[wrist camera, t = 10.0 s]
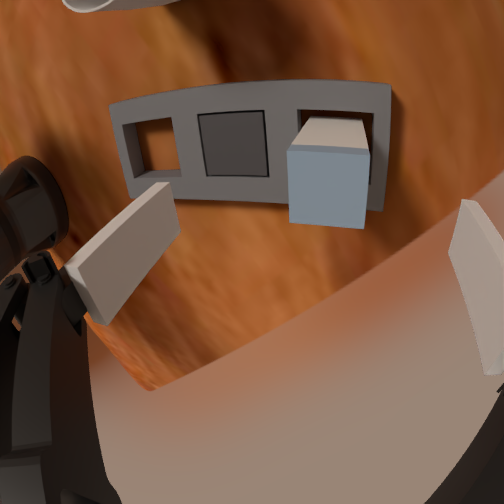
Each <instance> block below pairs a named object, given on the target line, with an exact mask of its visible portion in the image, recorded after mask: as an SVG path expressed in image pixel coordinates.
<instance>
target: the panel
mask: <svg viewBox="0 0 504 504" xmlns="http://www.w3.org/2000/svg"><path fill="white" fill-rule="evenodd" d="M301 109H310V110H337V111H354V112H366V113H372V141H371V161H370V176H369V180H368V193H367V204H366V210H371V211H381V212H383V207H384V199H385V190H386V180H387V169H388V157H389V142H390V122H391V85H389V84H387V83H377V82H366V81H352V80H331V79H280V80H258V81H244V82H232V83H222V84H213V85H205V86H198V87H191V88H184V89H178V90H172V91H166V92H161V93H156V94H151V95H146V96H141V97H136V98H132V99H128V100H123V101H120V102H117V103H114V104H111V105H109V110H110V115H111V120H112V125H113V130H114V135H115V139H116V144H117V148H118V152H119V156H120V161H121V165H122V169H123V173H124V177H125V180H126V184H127V188H128V192H129V195H130V198H138V197H139V196H140V195H142V194H143V193H144V192H145V191H147V190H148V189H149V188H150V187H151V186H153V185H154V184H155V183H156V182H170V186H171V190H172V195H173V199H200V200H228V201H250V202H269V203H285V204H289V193H288V169H287V150H288V148H289V147H290V145H291V144H292V142H293V141H294V139H295V138H296V136H297V135H298V134H299V132H300V131H301V129H302V122H301ZM167 117H171V118H172V124H173V130H174V136H175V141H176V147H177V153H178V158H179V164H180V170H154V171H145V168H144V164H143V159H142V155H141V150H140V145H139V141H138V136H137V131H136V126H135V122H140V121H147V120H153V119H160V118H167Z"/></svg>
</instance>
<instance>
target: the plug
mask: <svg viewBox="0 0 504 504" xmlns="http://www.w3.org/2000/svg"><path fill="white" fill-rule="evenodd" d="M369 166H370V153H369V148H368V144H367V139H366V135H365V130H364V126H363V122H362V118H349V117H331V116H310V118H309V119H308V121H307V122H306V124H305V125H304V126H303V128H302V129H301V131H300V132H299V134H298V135H297V136H296V138H295V139H294V141H293V142H292V144H291V145H290V147H289V148H288V150H287V169H288V193H289V222H290V223H301V224H313V225H324V226H335V227H346V228H357V229H364V223H365V214H366V204H367V193H368V180H369Z"/></svg>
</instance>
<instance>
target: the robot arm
mask: <svg viewBox="0 0 504 504" xmlns="http://www.w3.org/2000/svg"><path fill="white" fill-rule="evenodd" d="M67 231H68V214H67V209H66V205H65V202H64V199H63V196H62V194H61V191H60V189H59V187H58V185H57V183H56V182H55V180H54V178H53V177H52V175H51V174H50V172H49V171H48V170H47V169H46V167H45V166H44V165H43V164H42V163H40V162H39V161H38V160H37V159H35V158H33V157H30V156H22V157H20V158H18V159H17V160H15V161H13V162H11V163H10V164H9V165H8V166H7V167H6V168H5V169H4V171H3V172H2V173H1V174H0V281H1V280H2V279H3V278H4V277H5V276H6V275H8V274H9V273H10V272H11V271H12V270H13V269H14V268H15V267H16V266H17V265H18V264H19V263H20V262H21V261H22V260H24V259H26V258H28V257H29V258H28V259H27V260H26V261H25V262H24V263H23V265H22V269H23V271H24V273H25V275H26V277H27V278H28V280H29V282H30V283H26V282H25V280H24V279H23V277H22V275H21V274H19V273H18V274H13V275H10V276H9V277H7V278H6V279H5V280H4V281H3V282H2V284H1V285H0V504H122V503H121V500H120V497H119V496H118V494H117V492H116V490H115V489H114V488H113V486H112V485H111V484H110V483H109V481H108V478H107V476H106V472H105V467H104V463H103V459H102V454H101V449H100V444H99V439H98V433H97V428H96V421H95V415H94V408H93V401H92V393H91V385H90V374H89V362H88V347H87V324H86V321H85V319H84V317H83V316H84V314H85V313H86V312H87V311H88V313H89V314H90V316H91V318H92V320H93V321H94V322H96V323H99V324H102V325H106V326H108V325H109V324H110V322H111V321H112V319H113V318H114V317H115V315H116V314H117V313H118V311H119V310H120V309H121V307H122V306H123V305H124V303H125V302H126V301H127V299H128V298H129V297H130V295H131V294H132V293H133V291H134V290H135V289H136V287H137V286H138V285H139V283H140V282H141V281H142V280H143V278H144V277H145V276H146V274H147V273H148V272H149V271H150V269H151V268H152V267H153V266H154V264H155V263H156V262H157V261H158V259H159V258H160V257H161V256H162V254H163V253H164V252H165V251H166V249H167V248H168V247H169V246H170V244H171V243H172V242H173V241H174V240H175V238H176V237H177V236H178V235H179V233H180V232H181V229H180V225H179V221H178V217H177V212H176V208H175V204H174V199H173V195H172V190H171V186H170V182H156V183H155V184H154V185H153V186H151V187H150V188H149V189H148V190H147V191H145V192H144V193H143V194H142V195H140V196H139V197H138V198H137V199H136V200H134V201H133V202H132V203H131V204H130V205H129V206H127V207H126V208H125V209H124V210H123V211H122V212H120V213H119V214H118V215H117V216H116V217H115V218H114V219H112V220H111V221H110V222H109V223H108V224H107V225H106V226H105V227H103V228H102V229H101V230H100V231H99V232H98V233H97V234H96V235H95V236H94V237H92V238H91V239H90V240H89V241H88V242H87V243H86V244H85V245H84V246H83V247H82V248H81V249H80V250H79V251H78V252H77V253H76V254H75V255H74V256H73V257H72V258H71V259H70V260H69V261H68V262H67V263H66V264H65V265H64V266H63V267H62V268H61V269H60V270H59V271H58V269H57V267H56V265H55V263H54V261H53V259H52V257H51V255H50V253H49V252H48V251H46V250H49V249H51V248H53V247H55V246H56V245H57V244H58V243H59V242H61V241H62V240H63V239H64V238H65V236H66V234H67ZM448 254H449V257H450V259H451V262H452V264H453V267H454V270H455V273H456V276H457V278H458V281H459V284H460V287H461V290H462V293H463V296H464V299H465V302H466V306H467V309H468V312H469V316H470V319H471V323H472V326H473V330H474V334H475V338H476V341H477V346H478V350H479V354H480V359H481V363H482V368H483V373H484V376H485V375H501V374H502V373H503V372H504V241H503V239H502V237H501V236H500V234H499V233H498V231H497V230H496V228H495V227H494V225H493V224H492V222H491V221H490V219H489V218H488V216H487V215H486V214H485V212H484V211H483V209H482V208H481V207H480V206H479V204H478V203H477V202H476V201H472V200H465V199H462V201H461V206H460V210H459V215H458V218H457V222H456V226H455V230H454V234H453V237H452V241H451V245H450V248H449V251H448ZM13 317H15V319H16V320H17V321H18V323H19V324H20V326H21V330H20V331H18V330H17V329H16V328H15V326H14V325H13V324H12V319H13ZM501 390H502V391H501ZM500 391H501V393H500V395H499V397H498V399H497V401H496V403H495V404H494V406H493V408H492V410H491V412H490V413H489V415H488V417H487V419H486V420H485V422H484V424H483V425H482V427H481V429H480V430H479V432H478V433H477V435H476V437H475V438H474V440H473V441H472V443H471V444H470V446H469V447H468V449H467V450H466V452H465V453H464V454H463V456H462V457H461V459H460V460H459V462H458V463H457V464H456V466H455V467H454V468H453V470H452V471H451V472H450V473H449V475H448V476H447V477H446V479H445V480H444V481H443V483H442V484H441V485H440V486H439V487H438V489H437V490H436V491H435V492H434V493H433V494H432V496H431V497H430V498H429V499H428V500H427V501H426V502H425V504H504V383H503V385H502V386H501V387H500V388H499V389H498V390H497V392H498V393H499V392H500Z"/></svg>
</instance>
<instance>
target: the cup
mask: <svg viewBox="0 0 504 504" xmlns="http://www.w3.org/2000/svg"><path fill="white" fill-rule="evenodd" d="M62 1H63V3H64V4H65V5H66V6H67V7H68V8H69V9H71V10H73V11H75V12H81V13H86V12H96V11H111V10H132V9H138V8H145V7H153V6H162V5H166V4H169V3H172V2H176V1H179V0H62Z"/></svg>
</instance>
